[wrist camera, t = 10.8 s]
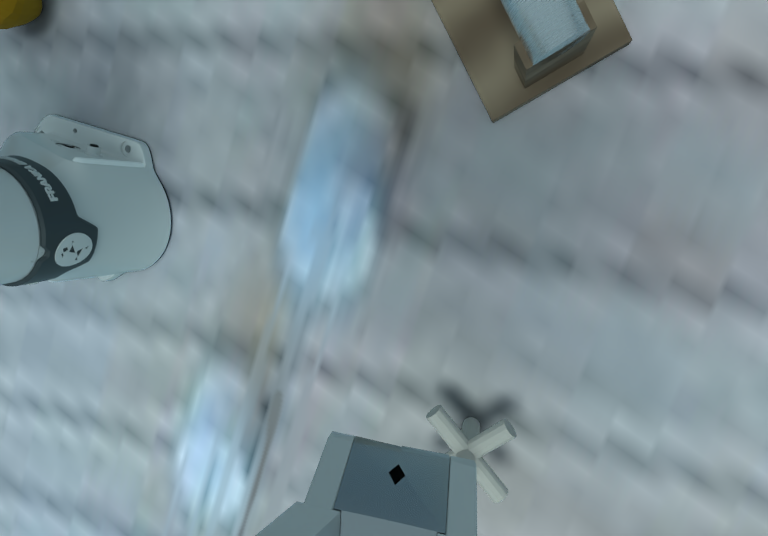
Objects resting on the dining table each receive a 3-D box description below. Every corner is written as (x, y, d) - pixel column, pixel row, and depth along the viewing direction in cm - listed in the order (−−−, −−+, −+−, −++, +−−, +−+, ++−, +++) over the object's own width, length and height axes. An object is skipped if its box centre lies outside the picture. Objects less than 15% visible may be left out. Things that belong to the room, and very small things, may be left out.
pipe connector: (479, 363, 44) (469, 412, 35) (541, 440, 44) (549, 511, 35) (406, 410, 48) (379, 467, 38) (463, 483, 47) (450, 557, 38)
